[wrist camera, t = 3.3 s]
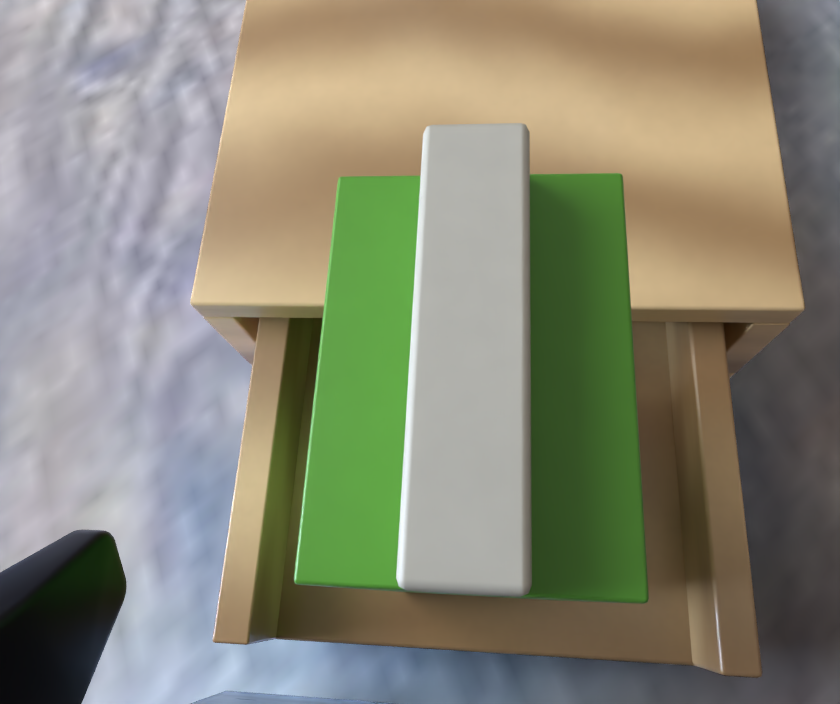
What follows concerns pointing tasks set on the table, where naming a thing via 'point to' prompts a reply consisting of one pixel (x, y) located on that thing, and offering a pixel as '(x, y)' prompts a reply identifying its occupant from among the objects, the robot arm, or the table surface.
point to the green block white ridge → (477, 383)
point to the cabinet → (508, 103)
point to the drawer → (496, 616)
